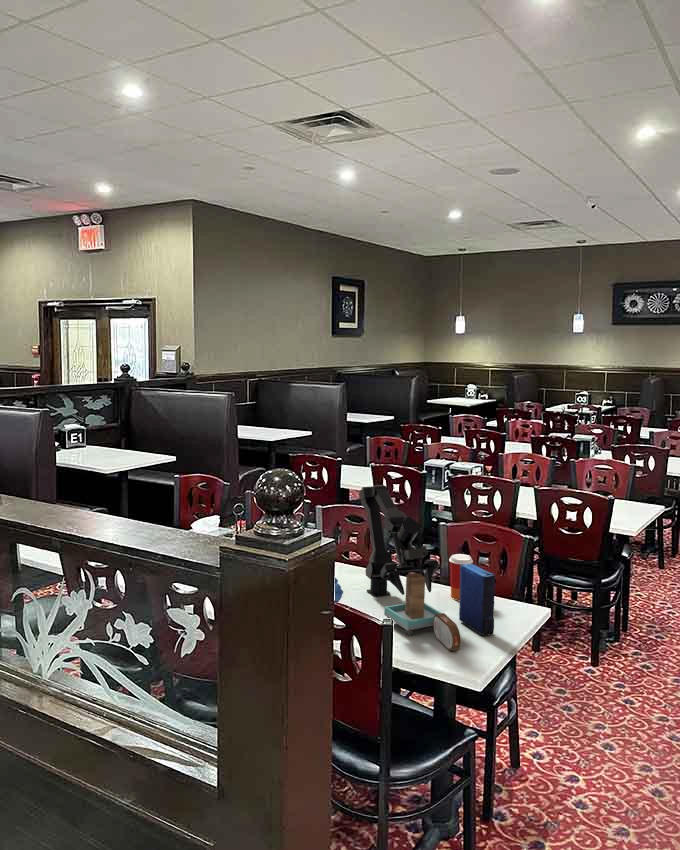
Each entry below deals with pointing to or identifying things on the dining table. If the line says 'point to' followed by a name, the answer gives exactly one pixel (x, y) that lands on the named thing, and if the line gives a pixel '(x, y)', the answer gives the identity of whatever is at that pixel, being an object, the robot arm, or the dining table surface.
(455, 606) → the dining table surface
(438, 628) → the tin
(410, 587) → the walnut block
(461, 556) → the coffee cup
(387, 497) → the robot arm
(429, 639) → the dining table surface
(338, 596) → the grapes
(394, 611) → the teal shallow tray
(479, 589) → the book
